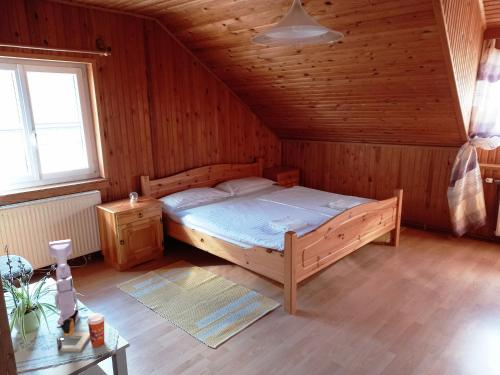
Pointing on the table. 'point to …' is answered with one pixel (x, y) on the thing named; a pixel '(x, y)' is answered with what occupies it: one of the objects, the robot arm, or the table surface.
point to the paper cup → (96, 329)
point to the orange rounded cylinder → (71, 328)
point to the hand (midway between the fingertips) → (69, 329)
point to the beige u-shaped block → (80, 345)
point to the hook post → (59, 343)
